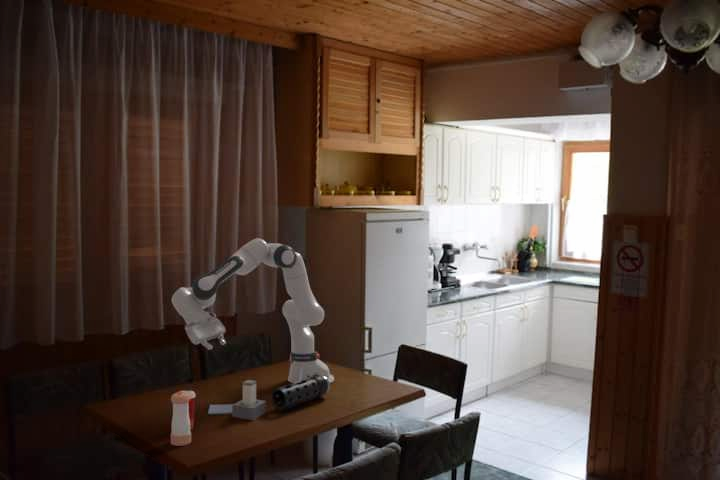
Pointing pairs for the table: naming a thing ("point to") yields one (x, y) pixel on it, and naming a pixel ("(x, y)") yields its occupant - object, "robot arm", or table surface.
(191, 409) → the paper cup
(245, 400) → the plug
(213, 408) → the mat
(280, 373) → the table surface
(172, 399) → the pepper shaker
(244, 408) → the header
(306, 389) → the muzzle brake
